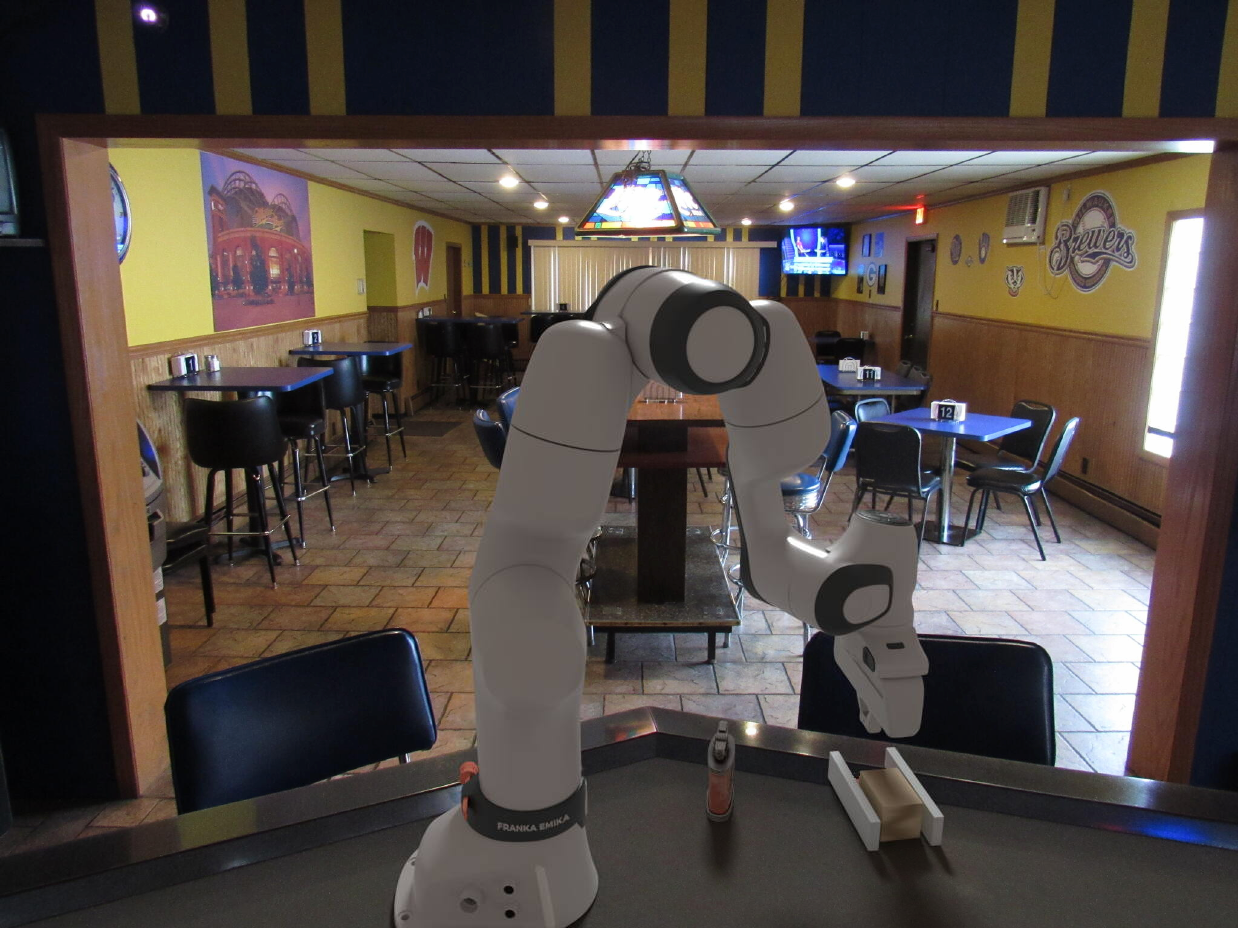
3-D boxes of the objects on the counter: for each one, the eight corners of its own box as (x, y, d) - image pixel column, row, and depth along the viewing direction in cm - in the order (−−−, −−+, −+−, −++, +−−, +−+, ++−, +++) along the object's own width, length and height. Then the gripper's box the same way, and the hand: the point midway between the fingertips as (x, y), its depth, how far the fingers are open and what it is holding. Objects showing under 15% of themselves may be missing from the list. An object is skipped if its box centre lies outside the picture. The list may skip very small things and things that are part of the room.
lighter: (730, 823, 105) (733, 753, 102) (703, 819, 105) (705, 750, 103) (735, 782, 112) (737, 717, 110) (710, 779, 113) (711, 714, 110)
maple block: (880, 842, 102) (883, 806, 100) (857, 804, 108) (859, 770, 107) (919, 838, 102) (923, 803, 101) (893, 800, 109) (897, 767, 108)
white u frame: (868, 850, 100) (870, 822, 99) (828, 777, 113) (829, 751, 112) (940, 844, 101) (944, 816, 100) (892, 772, 114) (894, 746, 113)
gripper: (824, 599, 117) (820, 687, 121) (883, 673, 97) (877, 776, 101) (868, 596, 118) (863, 683, 121) (936, 669, 98) (927, 771, 102)
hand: (870, 726), depth 111 cm, fingers closed
